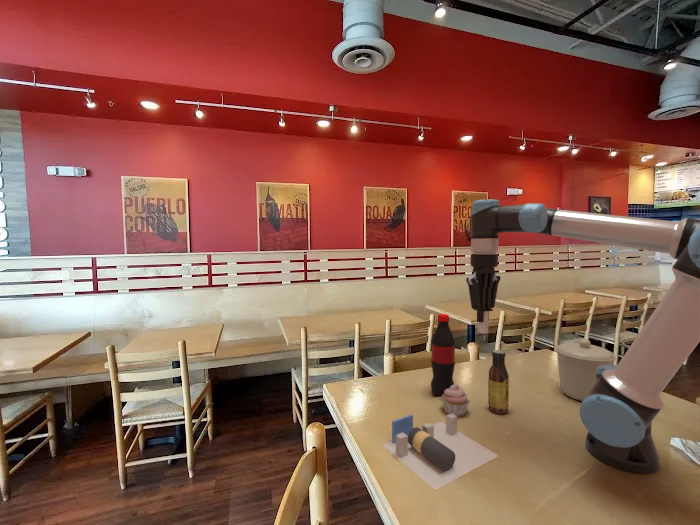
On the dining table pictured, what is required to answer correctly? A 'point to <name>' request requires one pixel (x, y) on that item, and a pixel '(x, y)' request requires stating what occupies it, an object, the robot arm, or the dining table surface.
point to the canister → (580, 366)
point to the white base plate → (447, 434)
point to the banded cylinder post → (431, 449)
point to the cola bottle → (442, 356)
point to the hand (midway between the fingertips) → (482, 332)
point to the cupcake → (455, 400)
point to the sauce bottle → (498, 384)
